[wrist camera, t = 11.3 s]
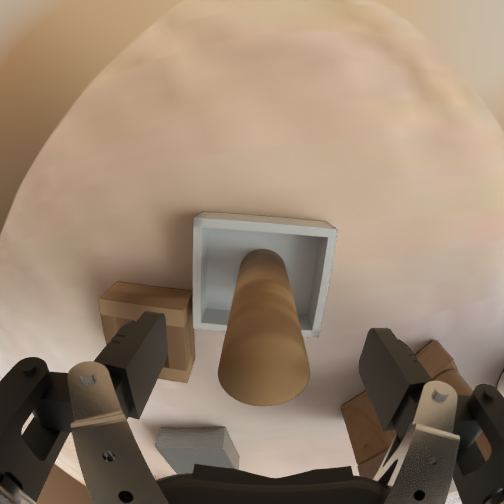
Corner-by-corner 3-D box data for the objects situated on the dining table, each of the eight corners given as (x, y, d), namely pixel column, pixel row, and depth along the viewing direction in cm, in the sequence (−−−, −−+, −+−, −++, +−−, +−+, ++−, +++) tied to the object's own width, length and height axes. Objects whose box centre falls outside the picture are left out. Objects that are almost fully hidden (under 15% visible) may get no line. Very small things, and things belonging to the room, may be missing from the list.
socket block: (193, 290, 19) (183, 310, 16) (195, 358, 21) (187, 383, 18) (117, 281, 19) (98, 298, 16) (126, 347, 21) (112, 368, 18)
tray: (327, 221, 18) (337, 229, 15) (312, 318, 20) (318, 337, 17) (202, 211, 18) (193, 217, 15) (200, 310, 20) (193, 328, 17)
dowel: (288, 250, 18) (318, 342, 8) (283, 294, 18) (301, 407, 9) (240, 247, 18) (218, 335, 8) (237, 290, 19) (217, 402, 9)
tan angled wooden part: (338, 405, 22) (381, 578, 5) (434, 336, 20) (544, 482, 3) (355, 420, 23) (398, 572, 6) (443, 357, 21) (536, 488, 4)
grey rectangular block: (225, 424, 24) (222, 447, 21) (239, 454, 25) (238, 474, 22) (161, 425, 24) (154, 446, 21) (181, 454, 26) (177, 473, 23)
